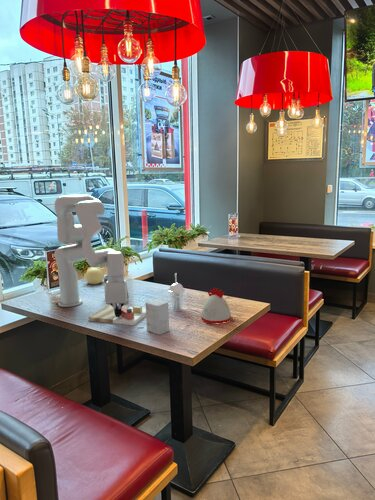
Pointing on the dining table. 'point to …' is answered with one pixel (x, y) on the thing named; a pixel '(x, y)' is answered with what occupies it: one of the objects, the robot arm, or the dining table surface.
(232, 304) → the dining table surface
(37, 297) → the dining table surface
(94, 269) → the pale yellow ball
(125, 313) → the swing bar
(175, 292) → the cup with straw
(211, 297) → the kitchen timer
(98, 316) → the tan wavy block
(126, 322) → the door
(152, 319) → the small box
